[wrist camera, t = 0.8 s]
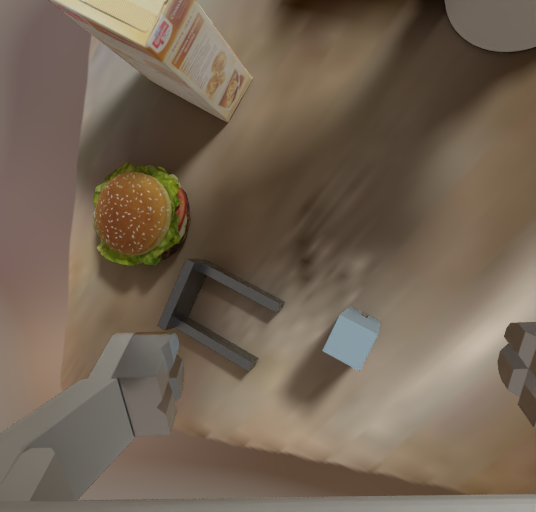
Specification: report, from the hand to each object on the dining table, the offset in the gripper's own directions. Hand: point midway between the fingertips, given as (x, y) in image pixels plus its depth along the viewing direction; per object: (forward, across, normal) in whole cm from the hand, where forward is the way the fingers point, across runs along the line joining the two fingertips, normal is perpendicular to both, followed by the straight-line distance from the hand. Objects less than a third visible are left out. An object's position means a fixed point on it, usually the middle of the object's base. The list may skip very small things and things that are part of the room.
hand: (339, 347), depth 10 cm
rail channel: (+36, +8, +24) cm, 44 cm away
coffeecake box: (+53, +12, -3) cm, 55 cm away
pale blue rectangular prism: (+31, -8, +24) cm, 40 cm away
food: (+46, +20, +14) cm, 52 cm away
